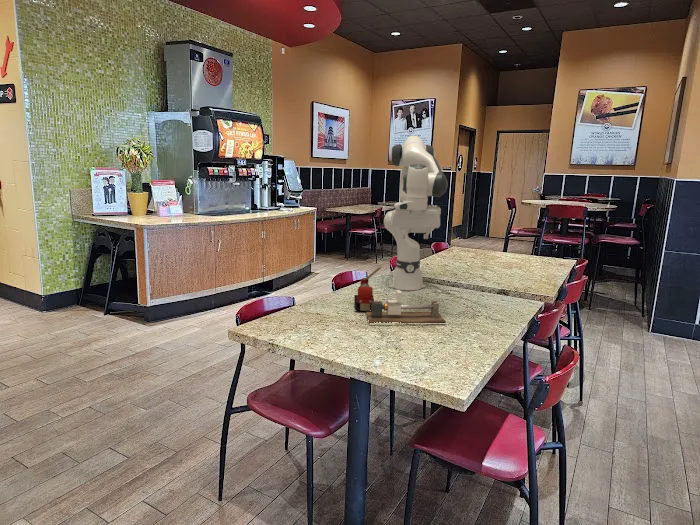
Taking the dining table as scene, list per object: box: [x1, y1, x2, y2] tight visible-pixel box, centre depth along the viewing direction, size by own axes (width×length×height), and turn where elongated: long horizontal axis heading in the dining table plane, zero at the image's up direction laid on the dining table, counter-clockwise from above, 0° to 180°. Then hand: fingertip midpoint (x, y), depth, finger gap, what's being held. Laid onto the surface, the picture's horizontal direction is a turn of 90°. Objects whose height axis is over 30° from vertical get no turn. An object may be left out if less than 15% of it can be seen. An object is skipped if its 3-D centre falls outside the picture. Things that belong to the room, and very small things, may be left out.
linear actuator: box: [365, 300, 447, 324], centre depth 184 cm, size 12×30×8 cm, turn 95°
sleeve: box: [386, 289, 403, 315], centre depth 183 cm, size 4×5×9 cm
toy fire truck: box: [353, 266, 382, 312], centre depth 198 cm, size 11×16×18 cm
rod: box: [370, 300, 433, 318], centre depth 184 cm, size 4×26×6 cm, turn 95°
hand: (414, 238), depth 190 cm, fingers open, 8 cm apart
